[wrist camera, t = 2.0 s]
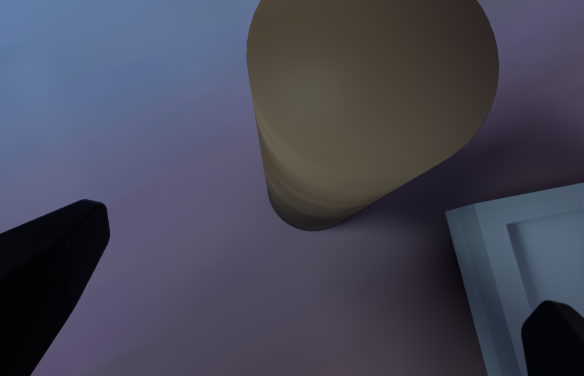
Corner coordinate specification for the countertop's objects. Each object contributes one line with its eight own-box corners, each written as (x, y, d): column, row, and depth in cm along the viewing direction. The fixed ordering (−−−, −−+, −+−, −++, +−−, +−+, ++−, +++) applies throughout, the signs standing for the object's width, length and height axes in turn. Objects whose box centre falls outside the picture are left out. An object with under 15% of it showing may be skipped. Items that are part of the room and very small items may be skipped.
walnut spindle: (364, 221, 19) (530, 152, 6) (276, 239, 18) (271, 200, 6) (345, 137, 19) (461, -72, 7) (260, 152, 19) (227, -39, 7)
